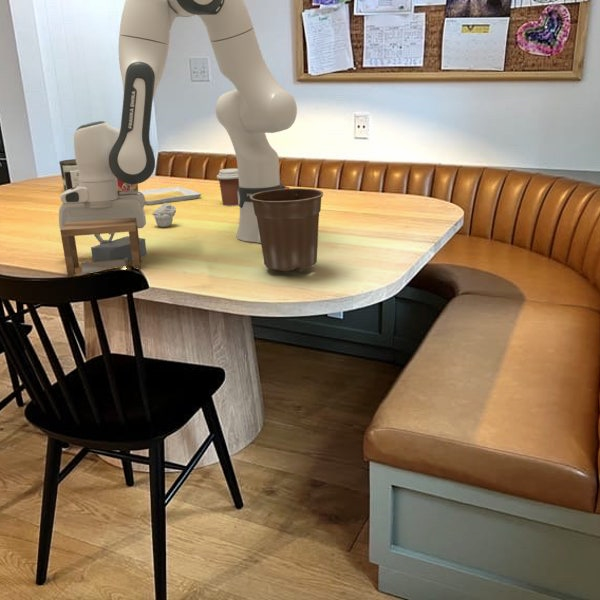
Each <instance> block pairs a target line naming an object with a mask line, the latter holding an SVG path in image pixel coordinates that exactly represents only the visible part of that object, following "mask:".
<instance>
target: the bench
mask: <svg viewBox="0 0 600 600" xmlns="http://www.w3.org/2000/svg"><path fill="white" fill-rule="evenodd" d="M59 231H60V237H61V243H62V248H63V255H64V261H65V267H66V273H67V276H68V277H69V276H75V275H76V269H77V268H79V267H80V268H81V272H82V273H81V274H82V275H88V274H87V273H91V272H97V271H101V270H105V269H110V268H115V267H123V266H127V267H128V264H129V261H128V258H124V259H120V260H108V261H96V262H93V261H90V260H85V262H81V263H80V261H79V256H78V250H77V243H76V238H75V237H78V236H89V235H91V236H92V235H94V234H100V235H102V234H103V235H104V234H109V233H115V234H117V233H128V236H129V238H130V245H131V253H132V260H131V262H132V268H133V267H135V268H138V269H139V270H141V263H142V261H143V260H142V256H141V251H140V243H139V238H140V234H139V228H138V227H137V219H136V218H124V219H111V220H97V221H84V222H70V223H65V224H64V226H63V227H62V229H61V230H60V229H59Z"/></svg>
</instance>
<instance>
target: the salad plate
mask: <svg viewBox="0 0 600 600" xmlns="http://www.w3.org/2000/svg"><path fill="white" fill-rule="evenodd" d="M138 192H141V193H142V194H143V195H144V196H147V195H155V194H163V193H169V192H179V193H180V194H182V195H178V196H172V197H171V196H169V197H163V198H158V199H154V200H145V206H152V205H153V206H154V205H160V204H161V205H162V204H165V203H168V204H169V203H174V202H181V201H191V200H196V199H199V198H200V197H201V196H202V193H201V192H198V191H195V190H192V189H189V188H185V187H181V186H172V187H162V188H154V189H153V188H152V189H145V190H138ZM138 194H139V193H138Z"/></svg>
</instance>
